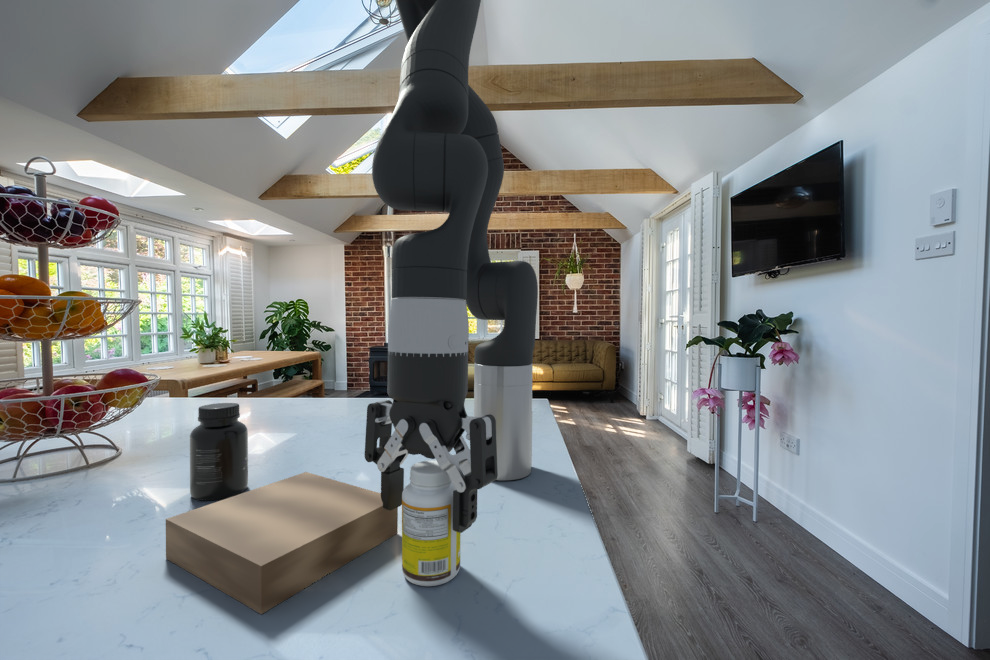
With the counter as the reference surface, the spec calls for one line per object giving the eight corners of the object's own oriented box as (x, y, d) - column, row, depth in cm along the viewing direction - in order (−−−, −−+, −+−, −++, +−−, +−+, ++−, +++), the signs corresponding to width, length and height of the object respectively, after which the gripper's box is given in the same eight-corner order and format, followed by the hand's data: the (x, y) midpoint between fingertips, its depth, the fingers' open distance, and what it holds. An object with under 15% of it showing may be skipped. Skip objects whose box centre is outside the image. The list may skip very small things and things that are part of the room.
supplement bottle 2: (433, 550, 46) (434, 453, 46) (472, 570, 43) (473, 465, 42) (389, 573, 42) (389, 467, 42) (428, 598, 38) (429, 481, 38)
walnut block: (306, 502, 58) (305, 471, 58) (397, 533, 50) (397, 498, 50) (165, 558, 44) (165, 519, 44) (261, 614, 36) (261, 566, 36)
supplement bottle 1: (259, 487, 63) (258, 403, 62) (210, 505, 57) (210, 412, 56) (227, 479, 66) (227, 399, 65) (178, 496, 59) (177, 407, 59)
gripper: (513, 349, 41) (510, 521, 42) (400, 343, 49) (398, 489, 49) (468, 353, 35) (464, 556, 35) (345, 345, 42) (343, 514, 43)
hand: (426, 517), depth 42 cm, fingers open, 8 cm apart
